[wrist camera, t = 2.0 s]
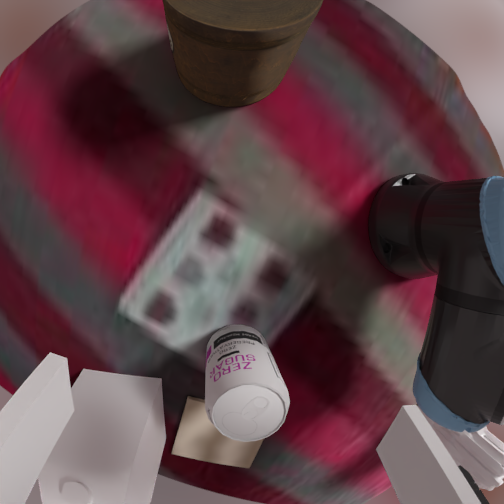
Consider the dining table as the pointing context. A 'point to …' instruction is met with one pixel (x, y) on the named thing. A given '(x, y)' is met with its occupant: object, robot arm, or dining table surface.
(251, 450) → the beige cloth
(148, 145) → the dining table surface
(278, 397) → the supplement can
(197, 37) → the wooden container
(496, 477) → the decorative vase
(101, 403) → the milk
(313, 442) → the dining table surface
